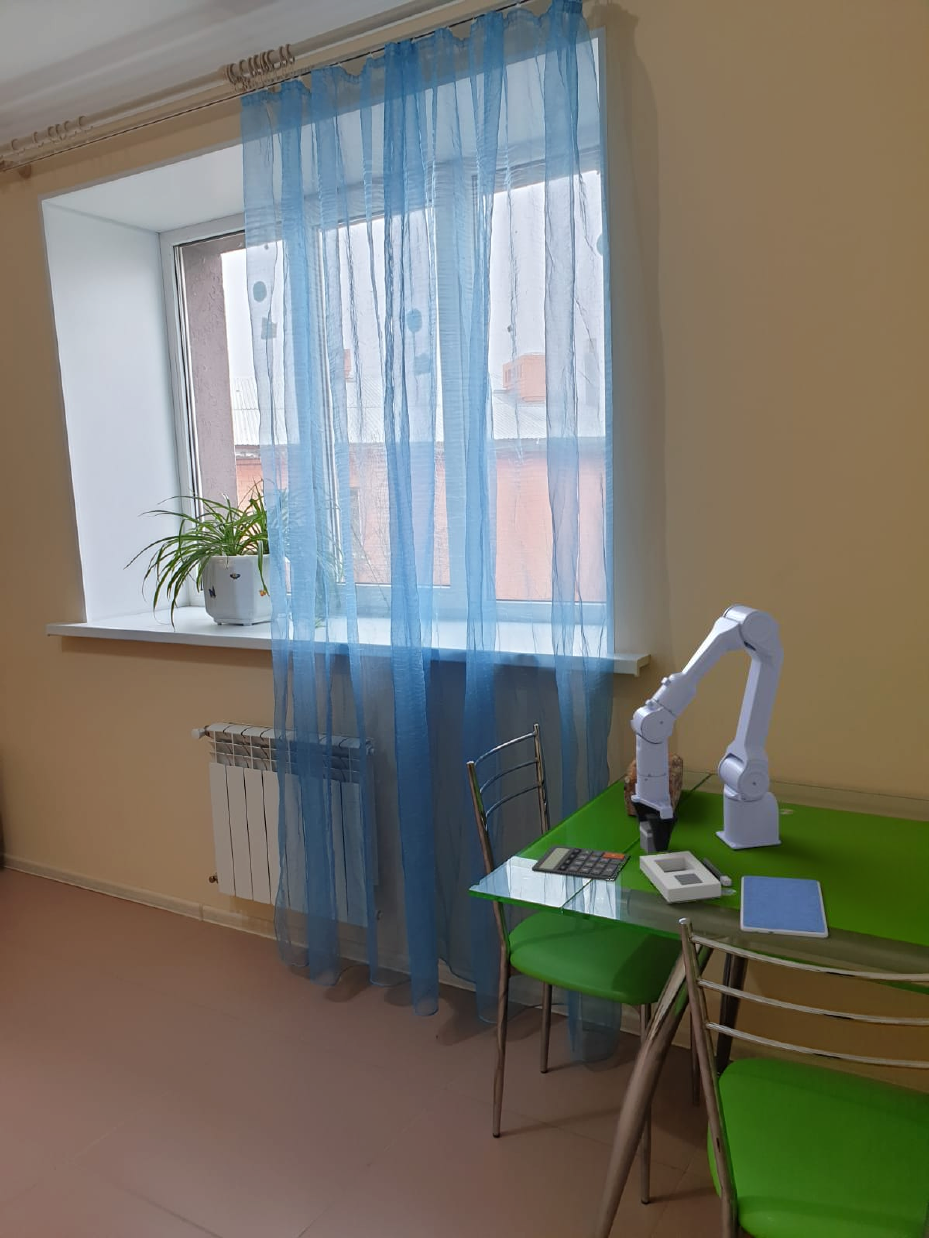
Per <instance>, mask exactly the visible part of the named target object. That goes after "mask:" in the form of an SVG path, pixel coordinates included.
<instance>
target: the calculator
mask: <svg viewBox="0 0 929 1238" xmlns="http://www.w3.org/2000/svg"><path fill="white" fill-rule="evenodd" d="M611 852H612V853H611ZM613 852H614V851H607V850H599V849H593V848H592V849H590V848H582V847H573V846H566V845H565V846H564V845H558V844H552V845H551V846H550V847H549V849H548V850H547V851H546V852H544V854H543V855H542V856H541V857H540V858H539V859H538V860H537V862H536V863H535V864H534V865H533V866H532V867H531V870H532V872H538V873H540V872H541V873H548V874H555V875H561V876H562V875H563V876H564V875H565V876H569V877H570V876H571V877H577V878H578V877H579V878H586V879H594V880H600V879H609V880H610V879H614V878H615V876H616V874H617V873H618V872H619V869H620V868H621V867H618V866H623V864H624V863H620V862H625V861H626V860H627V859H628V860H629V858H630V857H629V856H627V855H630V856H631V854H630V853H626V852H625V854H623V853H624V852H617V853H613ZM621 853H622V854H621ZM625 855H626V856H625ZM628 857H629V858H628ZM624 859H625V860H624ZM628 860H627V861H628ZM627 861H626V862H627ZM610 862H611V863H610ZM624 865H625V864H624ZM623 867H624V866H623ZM619 873H620V872H619ZM619 873H618V874H619ZM616 877H617V876H616ZM615 879H616V878H615ZM615 879H614V880H615Z"/></svg>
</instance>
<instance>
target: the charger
mask: <svg viewBox="0 0 929 1238" xmlns="http://www.w3.org/2000/svg"><path fill="white" fill-rule="evenodd" d="M639 834H640V835H639V836H640V839H639V840H640V848H641V847H642V849H644V850H645V852H647V854H650V853H651V854H652V853H659V852H657V851H656V850H655V847H654V842H653V835H652V830H651V827H650V824H649V822H648V821H646V822H640V827H639ZM669 847H670V846H669ZM669 847H668V850H667V851H661V852H669V853H670V851H669ZM642 849H641V850H642ZM645 852H644V853H645ZM647 854H646V855H647Z"/></svg>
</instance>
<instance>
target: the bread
mask: <svg viewBox="0 0 929 1238" xmlns="http://www.w3.org/2000/svg"><path fill="white" fill-rule="evenodd" d="M668 772H669V794H670V805H671V807H672V809H673V813H675V810H676V808H677V805H678V804H679V800H680V797H681V793H682V789H683V779H684V759H683V757H682V756H681V755H679V754H677V753H671V752H668ZM635 784H637V761H636V757H635V758H634V759H632V760H631V762H630V764H629V766H628V767H627V769H626V775H625V776H624V779H623V799H624V802H625V805H624V806H625V811H626V813H627V814H629V815H632V816H634V817H637V816H636V813H635V810H634V808H633V806H632V804H631V802H630V798H631V796H632V795H636V788H635Z"/></svg>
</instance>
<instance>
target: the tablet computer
mask: <svg viewBox="0 0 929 1238" xmlns="http://www.w3.org/2000/svg"><path fill="white" fill-rule="evenodd" d="M740 885H741V886H740V887H741V888H740V890H741V891H740V892H741V893H740V894H741V895H740V916H739V917H740V920H739V921H740V929H741V931H743V932H749V933H751V932H752V933H761V934H762V933H763V934H774V935H775V934H776V935H783V936H784V935H787V936H800V937H810V938H820V939H821V938H822V939H824V938H827V937H828V936H829V932H828V925H827V919H826V914H825V913H826V912H825V906H824V902H823V901H824V900H823V896H822V895H823V894H822V890H821V884H820V881H818V880H815V879H805V878H787V877H772V876H756V875H754V876H753V875H744V876H742V877H741V883H740Z"/></svg>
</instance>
